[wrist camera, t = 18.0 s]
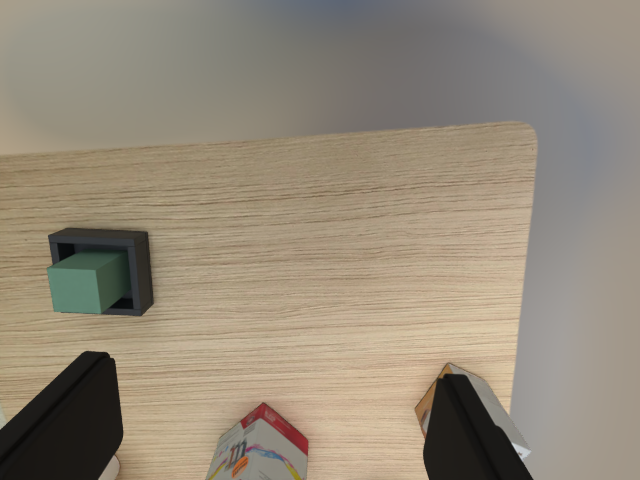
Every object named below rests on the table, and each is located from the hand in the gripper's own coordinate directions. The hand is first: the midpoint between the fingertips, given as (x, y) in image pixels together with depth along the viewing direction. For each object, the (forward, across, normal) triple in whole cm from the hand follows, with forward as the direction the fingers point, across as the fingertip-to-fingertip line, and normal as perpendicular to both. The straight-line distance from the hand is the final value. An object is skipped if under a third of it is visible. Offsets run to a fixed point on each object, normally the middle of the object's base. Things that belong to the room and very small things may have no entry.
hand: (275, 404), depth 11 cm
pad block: (+28, +22, +9) cm, 37 cm away
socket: (+29, +22, +9) cm, 37 cm away
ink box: (+29, +4, +31) cm, 43 cm away
